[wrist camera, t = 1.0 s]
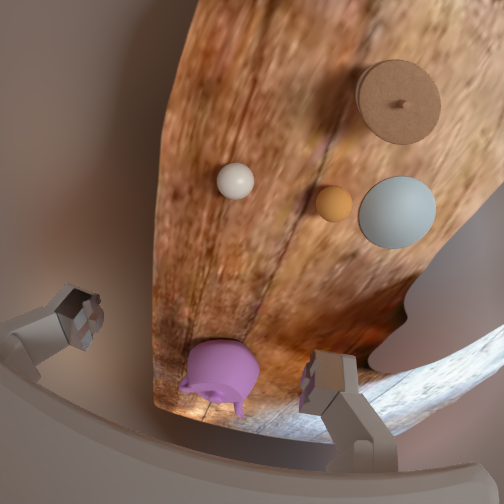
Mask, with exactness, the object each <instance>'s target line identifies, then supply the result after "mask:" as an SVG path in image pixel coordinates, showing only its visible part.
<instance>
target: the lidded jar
mask: <svg viewBox="0 0 504 504" xmlns="http://www.w3.org/2000/svg"><path fill="white" fill-rule="evenodd" d="M355 97H356V103H357V107H358V110H359V112H360V114H361V116H362V118H363V120H364V122H365V123H366V125H367V126H368V127H369V129H370V130H371V131H372V132H373V133H374V134H376V135H377V136H378V137H380V138H381V139H383V140H385V141H387V142H390V143H393V144H399V145H407V144H413V143H416V142H418V141H420V140H422V139H424V138H425V137H426V136H428V135H429V134H430V133H431V132H432V130H433V129H434V127H435V126H436V124H437V122H438V120H439V116H440V110H441V100H440V95H439V92H438V89H437V86H436V85H435V83H434V81H433V80H432V78H431V77H430V76H429V74H428V73H427V72H426V71H424V70H423V69H422V68H421V67H419V66H417V65H415V64H414V63H411V62H408V61H404V60H386V61H381V62H378V63H375V64H373V65H371V66H370V67H368V68H367V69H366V70H365V71H364V72H363V73H362V75H361V76H360V78H359V80H358V83H357V86H356V94H355Z"/></svg>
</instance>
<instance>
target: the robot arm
mask: <svg viewBox="0 0 504 504" xmlns="http://www.w3.org/2000/svg"><path fill="white" fill-rule="evenodd" d="M100 302H101V299H100V296H99V295H98V294H96V293H93V292H91V291H88V290H86V289H83V288H80V287H78V286H75V285H73V284H70V283H67V284H65V285H64V286H63V287H62V288H61V289H60V290H59V292H58V293H57V294H56V295H55V296H54V297H53V298H52V299H51V300H50V302H49V303H48V304H47V305H46V306H45V307H39V308H37V309H34V310H32V311H29V312H27V313H24V314H22V315H20V316H17V317H15V318H12V319H10V320H7V321H5V322H3V323H0V504H499V495H498V488H497V485H496V483H495V481H494V480H493V478H492V477H491V476H490V475H489V474H488V472H487V471H486V470H485V469H484V468H483V467H482V466H481V465H480V464H479V463H477V462H467V463H462V464H457V465H451V466H445V467H439V468H432V469H424V470H414V471H403V472H398V456H397V442H396V439H395V438H394V436H393V435H392V433H391V432H390V431H389V429H388V428H387V427H386V425H385V424H384V423H383V421H382V420H381V418H380V417H379V416H378V414H377V413H376V412H375V410H374V409H373V408H372V406H371V405H370V404H369V402H368V401H367V399H366V398H365V397H364V395H363V394H359V391H358V378H357V367H356V358H355V356H352V355H346V354H340V353H334V352H327V351H321V350H313V351H312V353H311V355H310V362H308V363H306V366H305V368H304V371H303V374H302V380H301V388H302V390H303V393H302V394H301V396H300V403H299V413H305V414H311V415H318V416H321V419H322V421H323V422H324V424H325V426H326V428H327V430H328V432H329V434H330V436H331V438H332V440H333V442H334V444H335V445H336V447H337V450H338V451H339V453H340V455H339V456H337V457H336V458H335V459H334V460H332V461H331V462H330V463H328V464H327V470H326V472H314V471H301V470H293V469H284V468H276V467H270V466H263V465H257V464H251V463H246V462H241V461H236V460H231V459H226V458H222V457H218V456H213V455H209V454H205V453H202V452H198V451H194V450H191V449H187V448H184V447H180V446H177V445H174V444H171V443H167V442H164V441H162V440H159V439H156V438H153V437H150V436H147V435H144V434H141V433H139V432H136V431H134V430H131V429H129V428H126V427H124V426H122V425H119V424H117V423H114V422H112V421H110V420H107V419H105V418H103V417H101V416H99V415H96V414H94V413H92V412H90V411H88V410H86V409H84V408H82V407H80V406H78V405H76V404H74V403H72V402H70V401H68V400H66V399H65V398H63V397H61V396H59V395H57V394H55V393H54V392H52V391H50V390H48V389H47V388H45V387H43V386H42V385H40V384H38V381H39V379H40V378H41V375H40V373H39V371H38V370H37V369H36V367H35V366H36V365H38V364H40V363H41V362H43V361H44V360H46V359H48V358H49V357H51V356H53V355H54V354H56V353H57V352H59V351H61V350H62V349H64V348H66V347H67V346H69V345H71V346H74V347H76V348H78V349H81V350H83V351H86V350H87V348H88V347H89V345H90V343H91V342H92V341H93V334H95V333H97V332H99V330H100V329H101V327H102V325H103V321H104V312H103V309H102V308H101V306H100V305H99V304H100Z"/></svg>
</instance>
